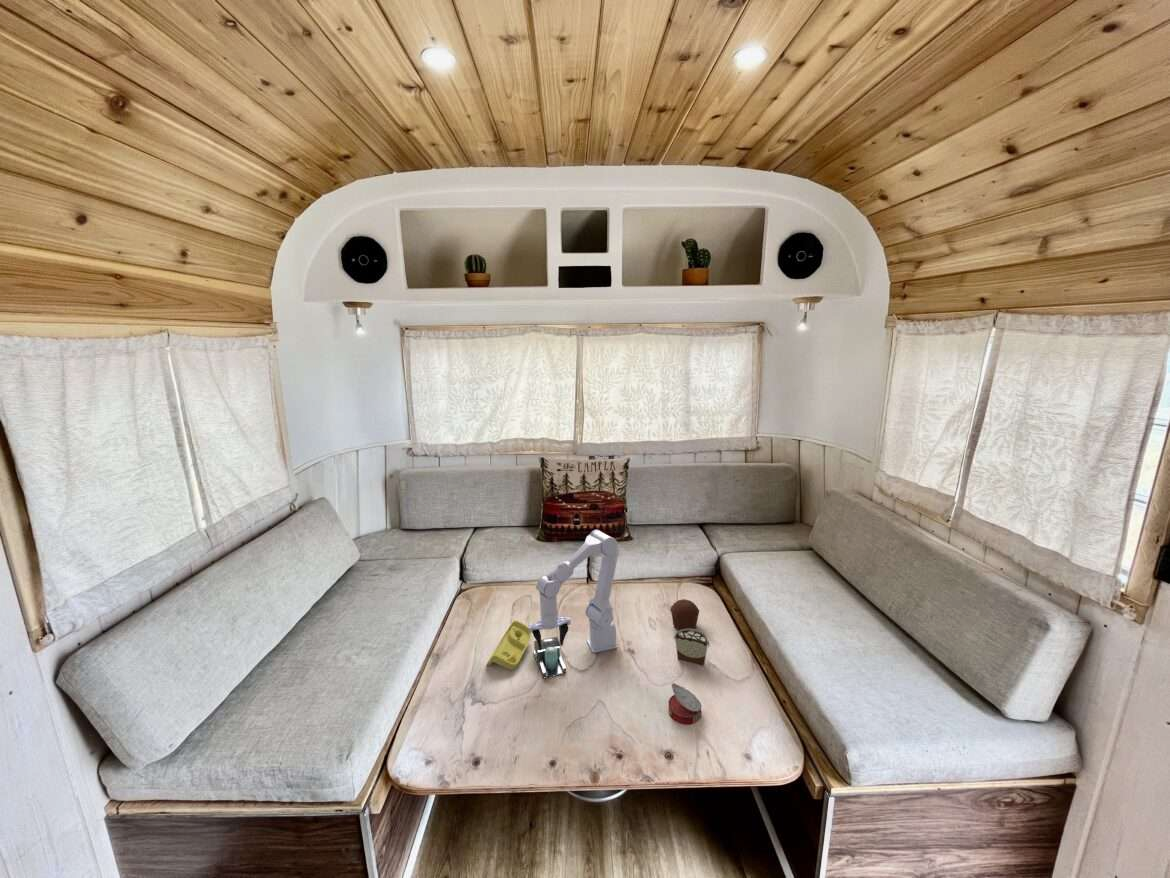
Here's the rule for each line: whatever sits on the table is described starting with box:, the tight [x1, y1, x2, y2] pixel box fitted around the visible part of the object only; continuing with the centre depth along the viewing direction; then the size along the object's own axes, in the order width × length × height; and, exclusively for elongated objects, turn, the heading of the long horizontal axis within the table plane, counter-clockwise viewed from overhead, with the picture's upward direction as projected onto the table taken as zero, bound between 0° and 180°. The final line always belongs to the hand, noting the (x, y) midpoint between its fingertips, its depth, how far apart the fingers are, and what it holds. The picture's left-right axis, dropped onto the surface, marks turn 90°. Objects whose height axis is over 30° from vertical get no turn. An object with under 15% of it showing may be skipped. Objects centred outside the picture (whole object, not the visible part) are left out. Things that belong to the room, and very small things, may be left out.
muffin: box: [669, 598, 700, 631], centre depth 192 cm, size 12×11×10 cm
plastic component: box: [486, 619, 532, 671], centre depth 179 cm, size 20×7×10 cm
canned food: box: [668, 682, 702, 726], centre depth 148 cm, size 11×10×10 cm
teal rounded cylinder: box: [545, 647, 558, 670], centre depth 170 cm, size 4×4×7 cm
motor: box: [533, 636, 567, 679], centre depth 173 cm, size 10×15×6 cm
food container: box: [673, 628, 710, 667], centre depth 173 cm, size 12×6×10 cm, turn 65°
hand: (550, 645), depth 169 cm, fingers open, 7 cm apart
